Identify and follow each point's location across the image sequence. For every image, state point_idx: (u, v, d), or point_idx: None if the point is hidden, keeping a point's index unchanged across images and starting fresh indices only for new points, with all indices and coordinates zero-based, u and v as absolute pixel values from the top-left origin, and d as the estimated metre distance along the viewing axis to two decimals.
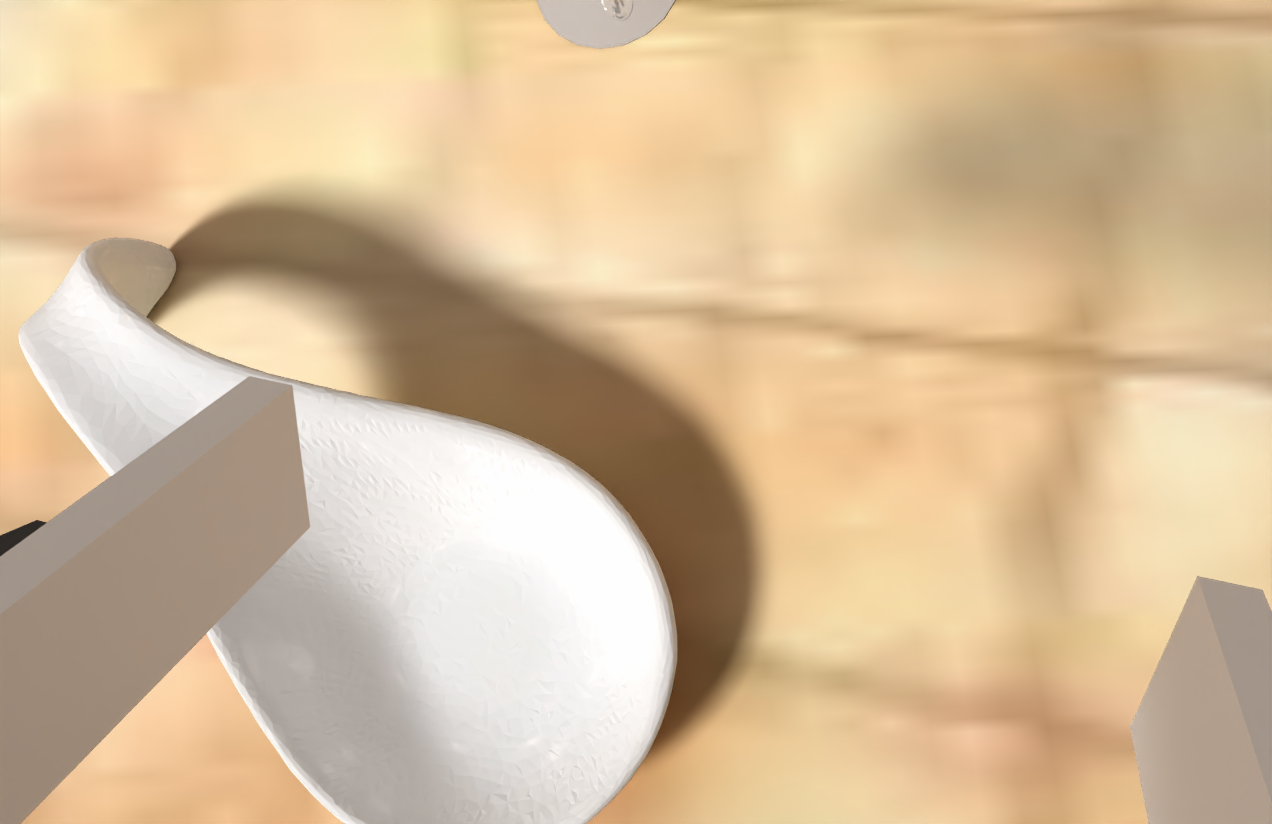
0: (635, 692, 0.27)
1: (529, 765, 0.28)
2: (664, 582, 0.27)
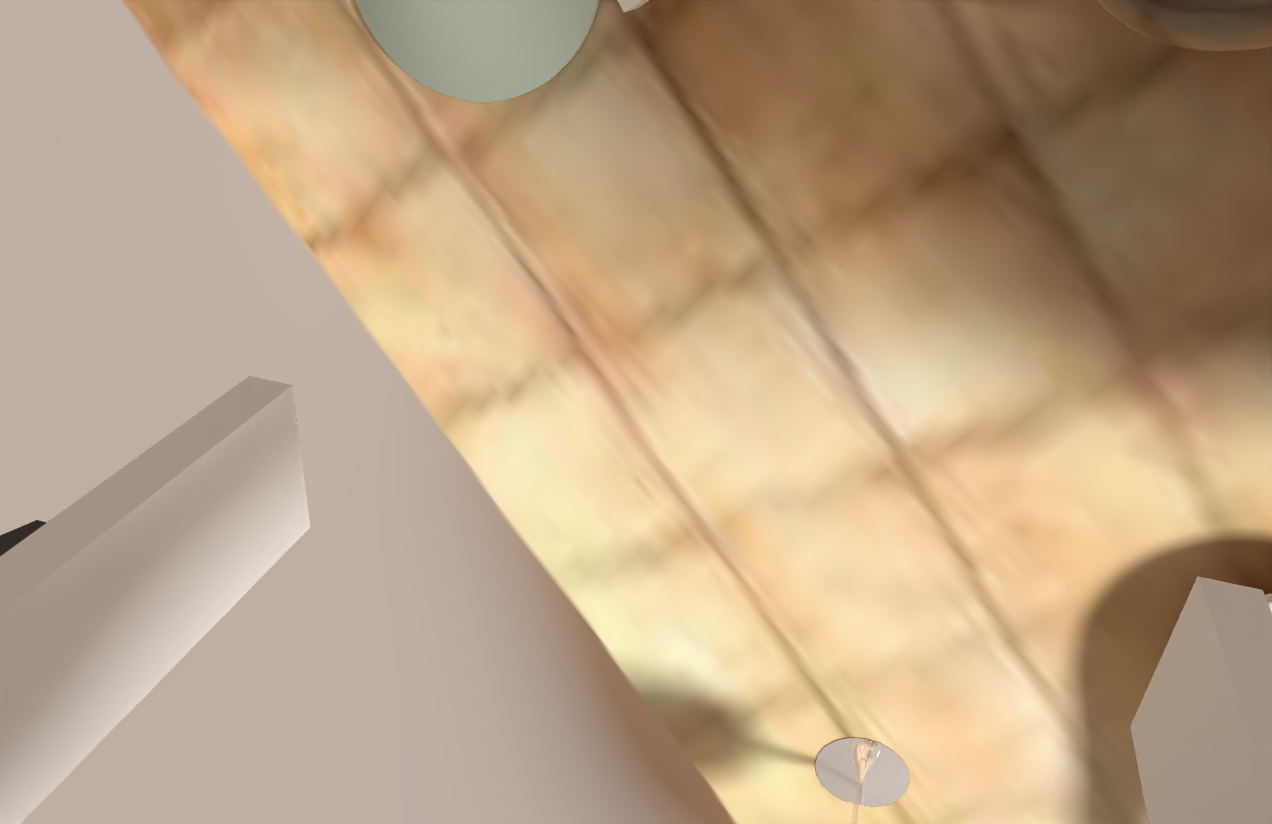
0: None
1: None
2: None
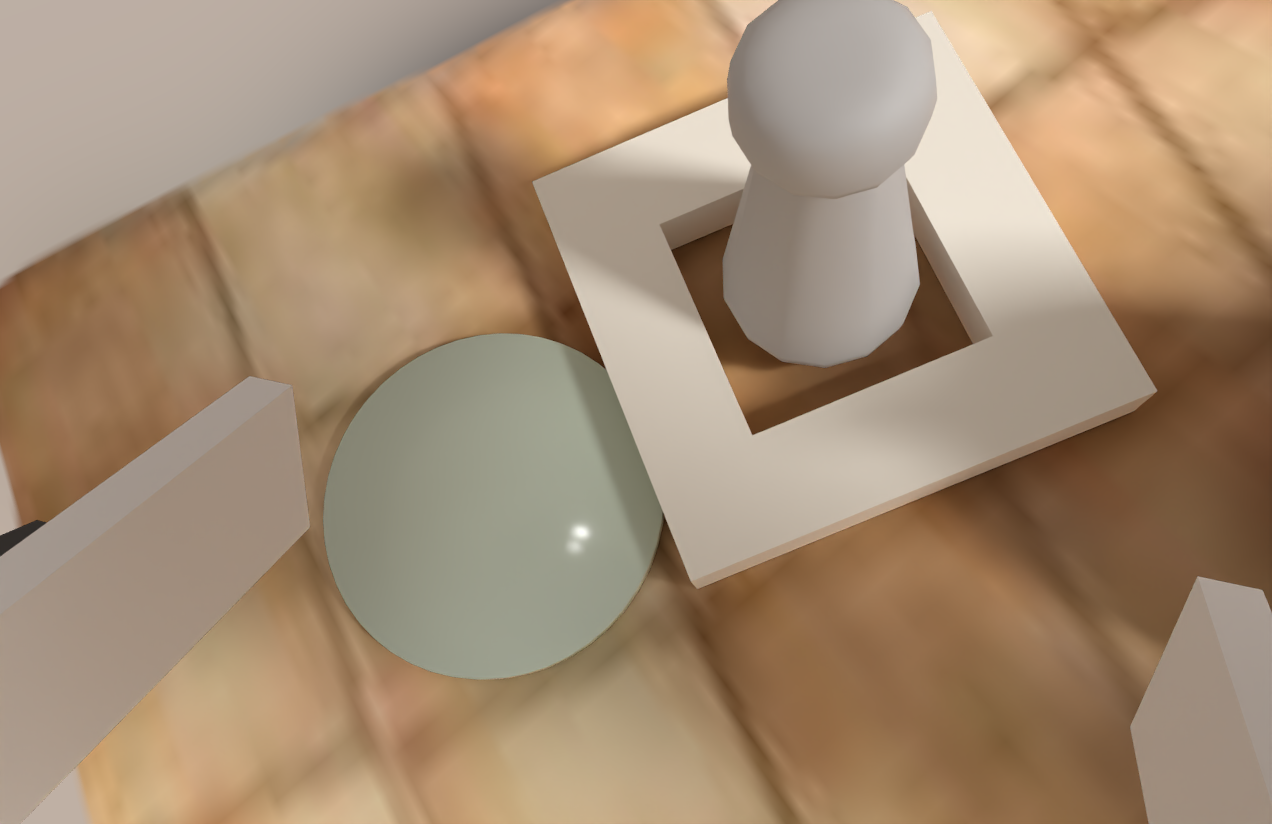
0: None
1: None
2: None
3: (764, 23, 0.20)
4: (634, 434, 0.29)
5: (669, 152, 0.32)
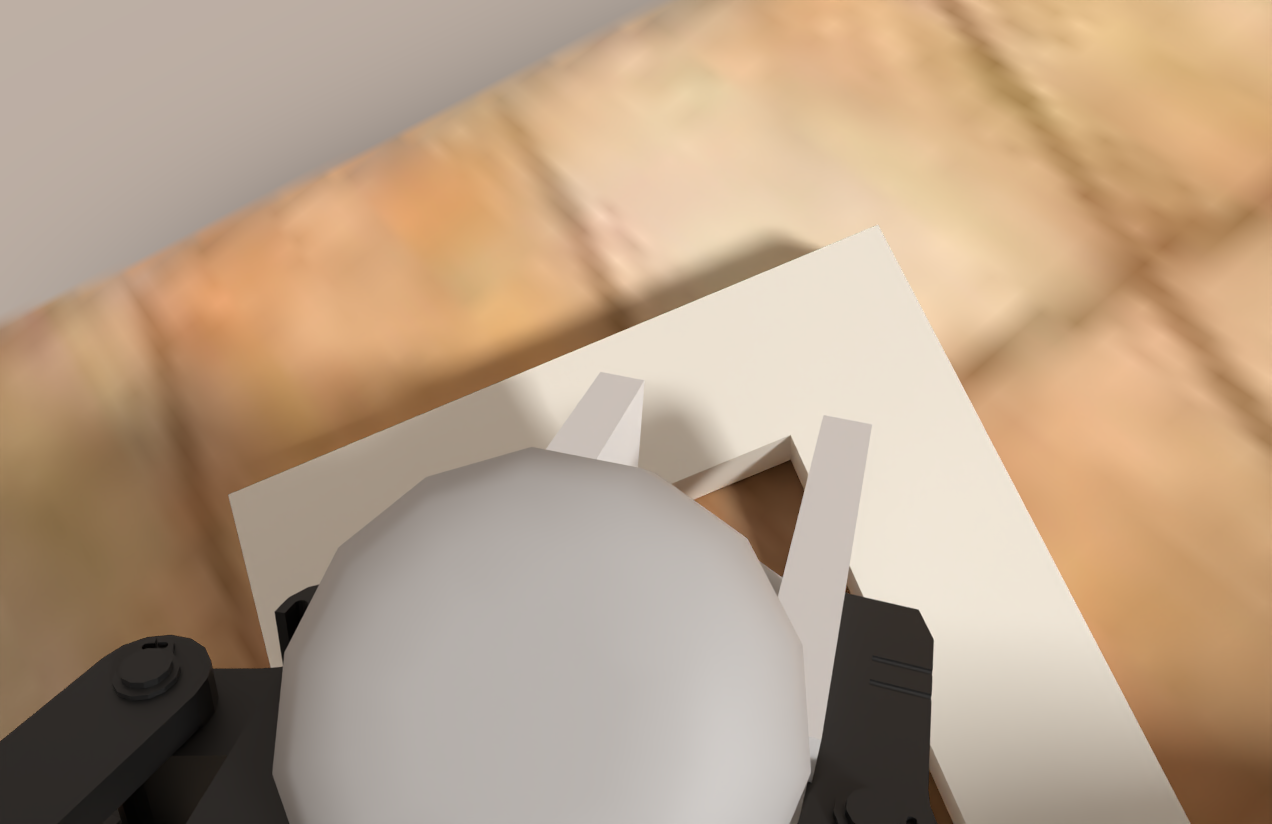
0: None
1: None
2: None
3: (355, 577, 0.08)
4: None
5: (447, 455, 0.19)
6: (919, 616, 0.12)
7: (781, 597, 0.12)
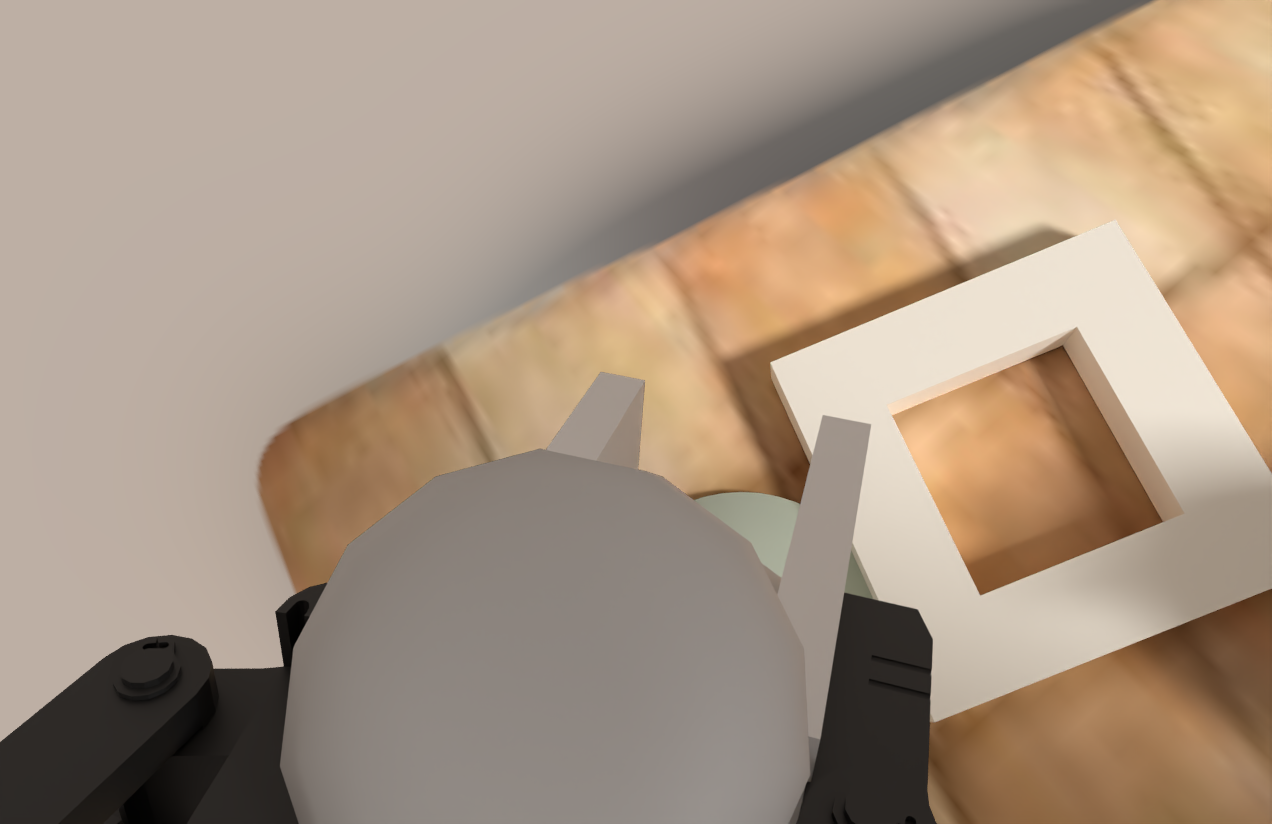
0: None
1: None
2: None
3: (365, 575, 0.08)
4: (877, 592, 0.35)
5: (891, 340, 0.37)
6: (919, 616, 0.12)
7: (780, 597, 0.12)
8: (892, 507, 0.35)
